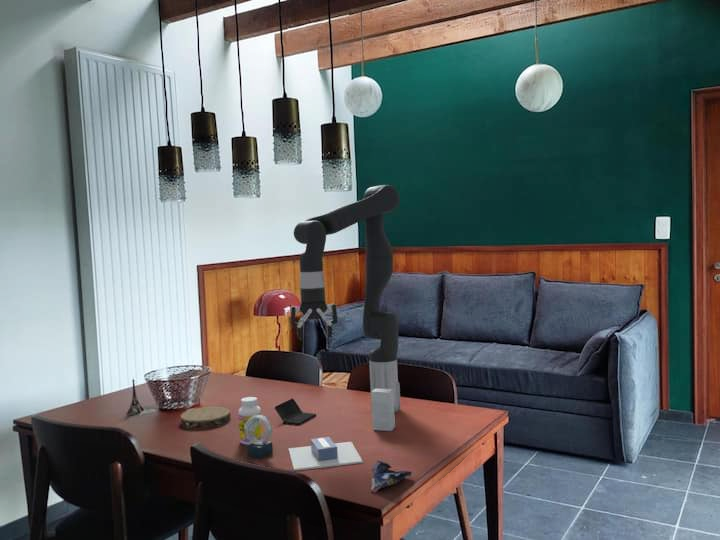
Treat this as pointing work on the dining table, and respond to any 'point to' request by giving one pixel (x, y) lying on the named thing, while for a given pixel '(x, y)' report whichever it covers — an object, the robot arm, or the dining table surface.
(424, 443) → the dining table surface
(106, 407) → the dining table surface
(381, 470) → the snack package
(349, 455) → the mat
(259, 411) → the supplement bottle
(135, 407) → the eiffel tower figurine
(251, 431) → the watch
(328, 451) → the card deck
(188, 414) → the beige round flat disc
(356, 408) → the dining table surface
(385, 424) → the skincare box
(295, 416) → the handheld gaming console
